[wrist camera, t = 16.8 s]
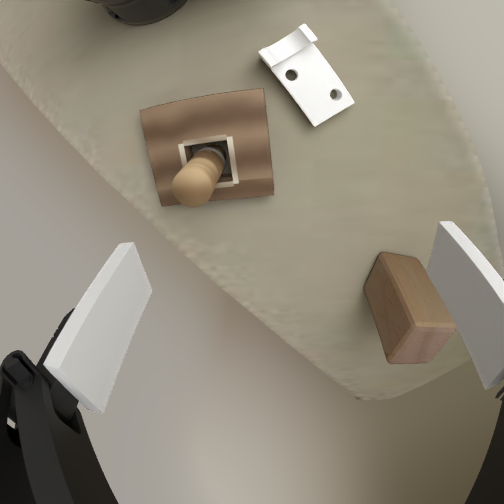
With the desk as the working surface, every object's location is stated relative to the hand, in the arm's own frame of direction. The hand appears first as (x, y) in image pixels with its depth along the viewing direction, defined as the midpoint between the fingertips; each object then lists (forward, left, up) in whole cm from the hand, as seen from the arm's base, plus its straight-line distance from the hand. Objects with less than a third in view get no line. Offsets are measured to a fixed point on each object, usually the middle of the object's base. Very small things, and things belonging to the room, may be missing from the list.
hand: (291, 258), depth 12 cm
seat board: (+2, -10, -35) cm, 36 cm away
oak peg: (+4, -10, -35) cm, 36 cm away
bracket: (-7, +5, -35) cm, 36 cm away
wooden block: (+30, +22, -35) cm, 51 cm away
